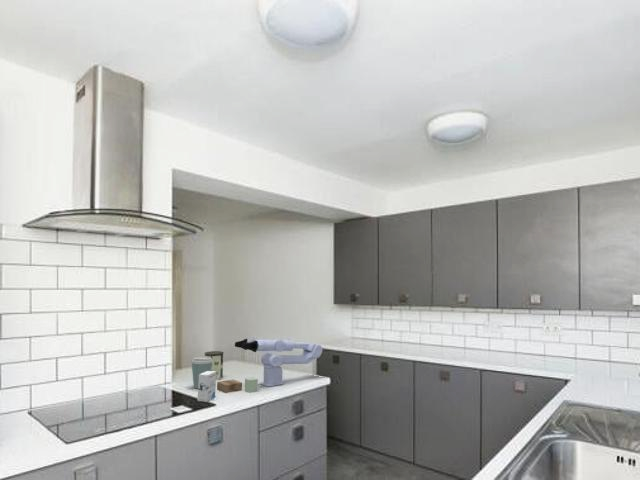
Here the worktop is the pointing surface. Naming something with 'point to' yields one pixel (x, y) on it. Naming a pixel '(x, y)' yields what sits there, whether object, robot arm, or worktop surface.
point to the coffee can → (216, 362)
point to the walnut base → (229, 386)
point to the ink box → (206, 386)
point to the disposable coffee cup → (200, 368)
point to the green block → (251, 385)
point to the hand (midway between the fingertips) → (238, 345)
